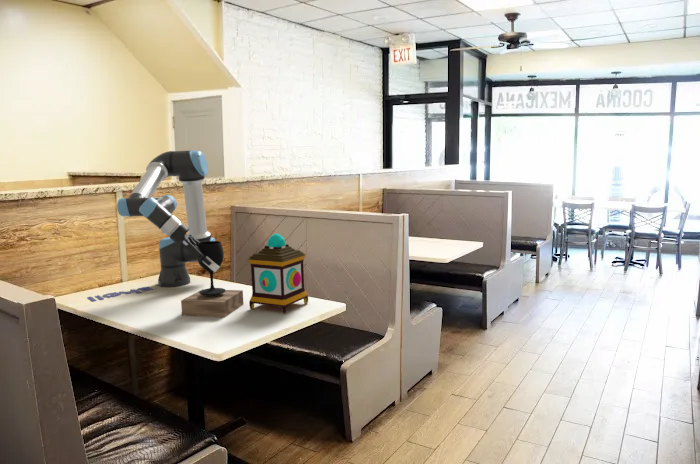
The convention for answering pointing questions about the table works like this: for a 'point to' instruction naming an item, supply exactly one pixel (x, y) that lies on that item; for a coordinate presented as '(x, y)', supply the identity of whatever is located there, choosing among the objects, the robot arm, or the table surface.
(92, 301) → the signage
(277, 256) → the decorative lantern
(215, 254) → the wine glass
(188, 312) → the walnut block
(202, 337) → the table surface
